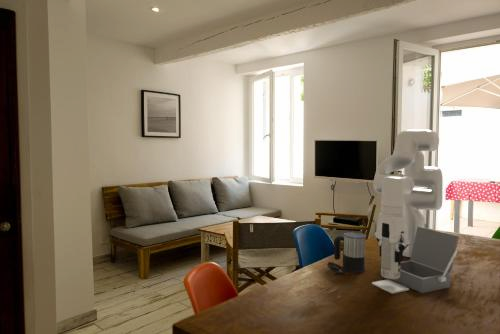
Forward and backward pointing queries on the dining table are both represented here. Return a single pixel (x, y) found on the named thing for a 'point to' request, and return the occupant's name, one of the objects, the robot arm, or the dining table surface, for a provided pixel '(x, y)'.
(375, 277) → the dining table surface
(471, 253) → the dining table surface
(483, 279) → the dining table surface
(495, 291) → the dining table surface
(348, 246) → the milk frother
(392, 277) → the spray can
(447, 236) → the case
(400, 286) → the pad
